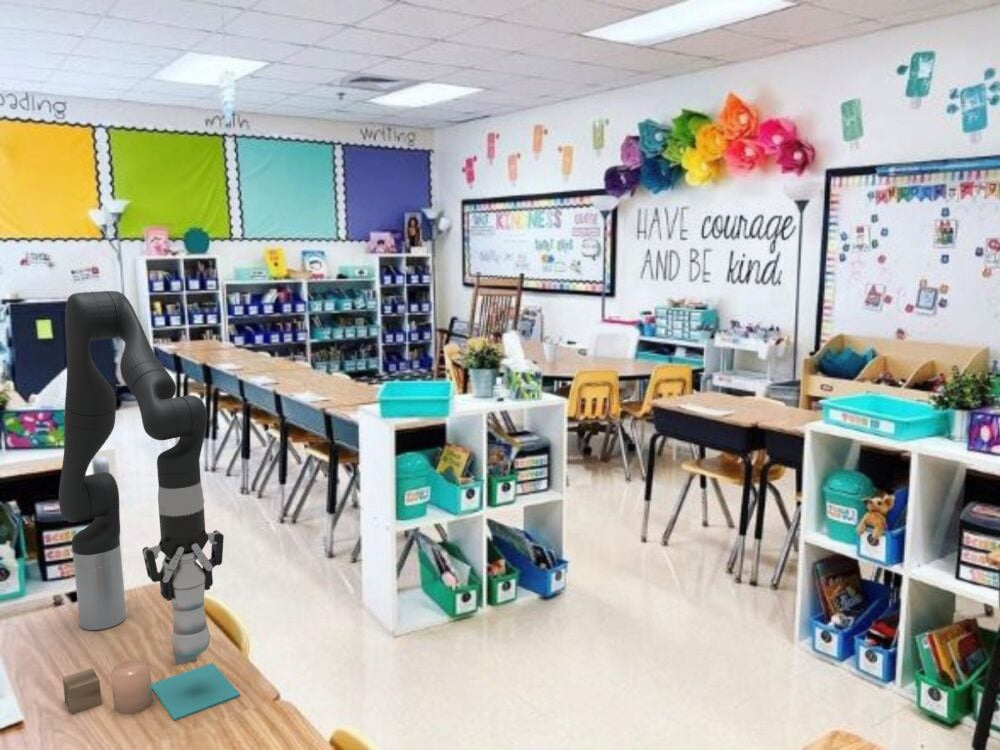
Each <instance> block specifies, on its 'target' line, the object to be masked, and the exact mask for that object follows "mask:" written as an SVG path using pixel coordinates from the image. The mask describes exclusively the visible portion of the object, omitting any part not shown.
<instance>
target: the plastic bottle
mask: <svg viewBox="0 0 1000 750" xmlns="http://www.w3.org/2000/svg"><path fill="white" fill-rule="evenodd" d="M197 560H198V559H197V557H196V554H195V553H194V552H192V553H188V554H182V556H181V557H180V561H179V564H177V566H176V569H175V570H174V571H173V573H172V575H171V577H170V581H171V588H172V600H171V604H172V605H171V606H172V611H173V613H172V614H173V626H172V627H173V629H172V634H171V644H172V648H173V652H174V651H175V652H176V653H177V654H178V655H180V656H185V657H190V656H199V655H201V654H203V653H204V652H205V651H206V650H207V649H208V647H209V645H210V640H211V634H210V630H209V627H208V626H209V625H208V622H207V618H206V617H207V616H206V611H205V591H206V590H205V581H206V575H205V573H204V570H203V569H202V568H203V567H202V565H201V564H200V563H198V562H197Z"/></svg>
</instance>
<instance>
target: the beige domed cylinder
mask: <svg viewBox="0 0 1000 750" xmlns="http://www.w3.org/2000/svg"><path fill="white" fill-rule="evenodd" d="M110 676H111V686H112V687H111V689H112V697H113V698H112V700H113V709H114V711H115V713H118V714H120V715H133V714H136V713H139V712H142V711H144V710H146V709H148V708H149V707H150V706H151V705H152V703H153V700H154V699H153V690H152V686H151V684H152V674H151V665H150V662H149V661H148V660H145V659H140V658H139V659H136V658H135V659H130V660H126V661H123V662H120V663H118V664H117V665H115V666H114V667H113V668H112V669H111V671H110Z"/></svg>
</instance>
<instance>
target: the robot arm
mask: <svg viewBox="0 0 1000 750" xmlns="http://www.w3.org/2000/svg"><path fill="white" fill-rule="evenodd" d="M64 310H65V311H64V327H65V328H64V329H65V330H64V331H65V342H66V345H65V346H66V389H65V400H64V439H63V440H64V442H63V443H64V445H63V449H64V450H63V459H62V465H61V474H60V481H59V488H58V505H59V510H60V514H61V516H62V518H63V519H64V520H65V521H66V522H69V523H78V522H79V523H80V522H84V521H88V520H92V519H93V521H92V522H91V523H90V524H88V526H86V527H84V528H83V529H81V530H80V531H78V532H77V533H76V534H74V535H73V538H71V539H72V540H71V548H72V558H73V559H72V561H73V570H74V579H75V588H76V589H75V590H76V597H77V598H76V599H77V611H78V620H79V622H78V623H79V627H80V628H81V629H82V630H85V631H87V630H88V631H99V630H100V631H101V630H105V629H106V630H107V629H110V628H112V627H115V626H117V625H119V624H121V623H122V622H124V621H125V620H126V618H127V609H126V599H125V598H126V597H125V585H124V584H125V583H124V573H123V562H122V553H121V540H120V538H121V537H120V536H121V520H120V519H121V518H120V517H121V516H120V492H119V487H118V483H117V481H116V478H115V477H114V476H113V474H111V473H110V472H107V471H106V472H103V471H102V472H97V473H93V474H87V472H88V468H89V467H90V464H91V463H92V460H93V459H94V458H95V456H96V455H97V454H98V452H99V451H100V450H101V448H102V447H103V446H104V444H105V443H106V442H107V440H108V439H109V437H110V436H111V435H112V432H113V431H114V427H115V425H116V413H117V411H116V410H117V397H116V394H115V392H114V389H113V388H112V386H111V385H110V383H109V382H108V381H107V379H106V377H104V375H103V374H102V373H101V371H100V370H99V369H98V368H97V366H96V364H95V362H94V361H93V358H92V354H91V353H92V352H91V343H92V341H99V340H108V339H115V338H120V339H121V340H122V341H123V342H124V343H125V344H124V348H123V349H124V350H123V353H122V356H121V359H120V362H119V363H120V366H119V368H120V369H119V371H120V374H121V378H122V380H123V381H124V383H125V385H126V386H127V388H128V389H129V391H130V392H131V394H132V395H133V396H134V398H135V399H136V401H137V404H138V408H139V411H140V415H141V422H142V427H143V429H144V432H145V433H146V434H147V435H148V436H149V437H150V438H152V439H154V440H155V441H169V440H173V439H176V438H177V439H178V438H179V439H178V441H177V443H176V444H175V445H173V446H172V447H170V448H168V449H166V450H164V451H162V452H161V453H159V454H158V456H157V459H156V466H157V467H156V469H157V470H156V471H157V482H158V493H157V502H158V505H157V506H158V515H159V528H160V540H159V542H158V545H157V544H156V545H154V546H152V547H148V546H145V547H143V549H142V555H143V560H144V564H145V568H146V569H145V570H146V572H147V577H148V578H149V579H150V580H151V581H152V583H157V582H159V585H160V587H159V589H160V595H161V596H162V598H163V599H164V600H166V601H167V602H170V601H171V602H172V588H171V581H170V577H171V575H172V573H173V571H174V570H175V569H176V566H177V564H179V561H180V557H181V556H182V554H188V553H192V552H194V553H195V554H196V557H197V560H198V562H199V565H200V566H201V568H202V569H203V570H204V573H205V575H206V581H205V591H209V590H211V587H212V586H213V584H214V581H213V577H214V576H213V570H214V568H215V567H216V566H220V565H222V563H223V557H224V556H223V553H224V534H222V533H221V532H220V531H219V530H215V529H214V530H213V531H212V532H209V533H207V531H206V519H205V516H206V515H205V498H204V491H203V485H202V481H201V465H200V458H201V453H202V450H203V449H202V447H203V442H204V439H205V433H206V430H207V425H208V411H207V410H208V409H207V408H206V405H205V403H204V402H203V400H202V399H200V397H198V396H197V395H193V394H192V395H183V396H177V397H174V396H175V395H176V391H177V387H176V386H177V385H176V382H175V381H174V379H173V378H172V376H171V375H170V373H169V372H168V370H167V369H166V368H165V366H164V365H163V364H162V362H161V361H160V359H158V357H157V355H156V353H155V352H154V350H153V348H152V346H151V344H150V342H149V340H148V337H147V335H146V333H145V330H144V329H143V326H142V325H141V322H140V320H139V317H138V315H137V314H136V311H135V309H134V307H133V305H132V304H131V301H130V300H129V299H128V297H126V295H124V294H123V293H122V292H120V291H116V290H103V291H86V292H85V291H84V292H75V293H72V294H71V295H70V296H69V297H68V298H67V301H66V304H65V309H64ZM86 474H87V475H86ZM207 542H209V543H210V545H211V551H210V553H211V555H210V558H209V559H208V556H206V554H205V553H204V551H203V549H204V548H205V546H206V545H207ZM161 552H162V553H163V554H164V555H165V556H164V558H163V560H162V564H161V568H160V569H159V571H158V566H157V562H156V560H157V559H158V558H159V554H160V553H161Z"/></svg>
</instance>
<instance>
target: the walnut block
mask: <svg viewBox="0 0 1000 750" xmlns="http://www.w3.org/2000/svg"><path fill="white" fill-rule="evenodd" d="M62 686H63V696H64V703H65V705H66V706H67V708H68V710H69V712H70V715H71V716H72V715H75V714H77V713H80V712H83V711H86V710H89V709H92V708H96V707H99V706H100V705H102V704H103V701H102V691H101V683H100V678H99V676H98V675H97V673H96V671H95V670H94V668H93V667H92V668H91V667H90V668H88V669H85V670H81V671H79V672H75V673H72V674H69V675H66V676H63V677H62Z"/></svg>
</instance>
